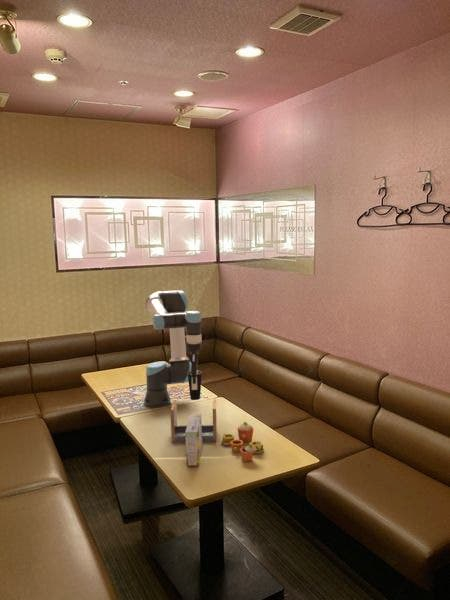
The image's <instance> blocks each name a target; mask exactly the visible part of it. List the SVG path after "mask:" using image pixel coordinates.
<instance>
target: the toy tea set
mask: <svg viewBox="0 0 450 600" xmlns="http://www.w3.org/2000/svg"><path fill="white" fill-rule="evenodd" d="M237 432H238V433H237V435H238V439H235V435H234V434H232V433H226V432H225V433H223V434H222V439H221V444H222V445H223V446H230V448H231V451H232V452H233V453H240V457H241V460H242V461H243V462H251V461H252V460H253V456H254V454H261V453H263V452H264V450H265V448H264V444H263V442H262V441H257V440H254V441H253V435H254V426H252V425H251V424H249V423H248V422H247V421H244V422H243V423H242V424H240V425H239V426H237ZM243 444H248V446H247V445H246V446H244V445H243Z"/></svg>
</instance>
